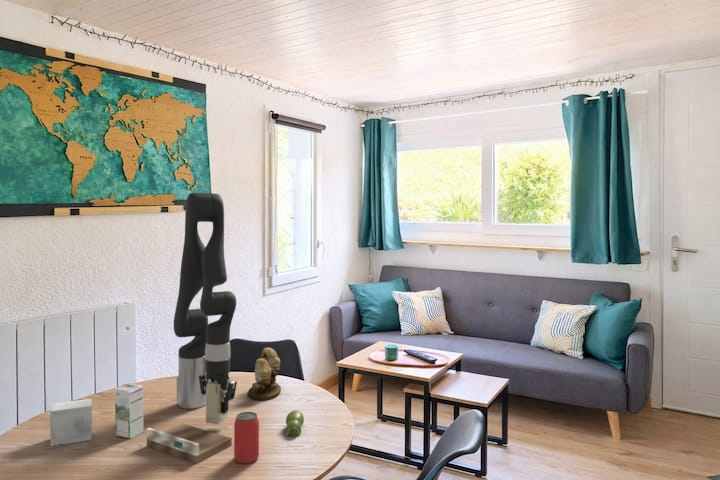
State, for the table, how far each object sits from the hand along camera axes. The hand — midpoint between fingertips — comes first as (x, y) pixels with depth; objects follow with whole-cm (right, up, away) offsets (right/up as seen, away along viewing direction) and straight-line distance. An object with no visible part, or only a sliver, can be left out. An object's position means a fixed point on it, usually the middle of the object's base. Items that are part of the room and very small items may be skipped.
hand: (217, 410), depth 159 cm
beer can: (+13, -7, -18) cm, 24 cm away
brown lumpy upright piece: (+8, -5, +34) cm, 36 cm away
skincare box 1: (-40, -6, -8) cm, 41 cm away
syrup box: (-25, -6, -4) cm, 26 cm away
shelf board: (-5, -6, -11) cm, 14 cm away
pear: (+24, -7, +1) cm, 25 cm away
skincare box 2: (0, -3, 0) cm, 3 cm away
